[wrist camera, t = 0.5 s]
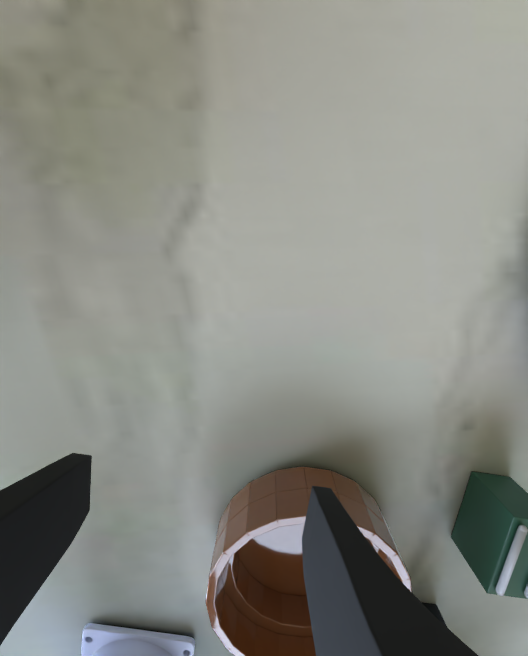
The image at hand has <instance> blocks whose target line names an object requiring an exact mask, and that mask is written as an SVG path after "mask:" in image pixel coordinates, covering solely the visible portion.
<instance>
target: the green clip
mask: <svg viewBox="0 0 528 656" xmlns="http://www.w3.org/2000/svg"><path fill="white" fill-rule="evenodd" d="M451 538H452V540H453V541H454V543H455V544H456V546H457V547H458V549H459V550H460V552H461V554H462V555H463V557H464V558H465V560H466V561H467V563H468V564H469V566H470V568H471V569H472V571H473V572H474V574H475V575H476V577H477V578H478V580H479V582H480V583H481V585H482V586H483V588H484V589H485V591H486V592H487V593H489V594H496V595H500V596H503V595H504V596H511V597H518V598H525V599H528V493H527V492H526V491H525V490H524V489H523V488H522V487H520V486H519V485H518V484H517V483H516V482H515V481H514V480H513V479H512V478H511V477H507V476H500V475H493V474H486V473H479V472H472V473H471V476H470V479H469V482H468V485H467V489H466V492H465V495H464V498H463V501H462V504H461V507H460V510H459V514H458V517H457V520H456V523H455V526H454V529H453V532H452V536H451Z"/></svg>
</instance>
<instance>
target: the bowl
mask: <svg viewBox="0 0 528 656" xmlns="http://www.w3.org/2000/svg"><path fill="white" fill-rule="evenodd" d="M312 486H319V487H326V488H331V489H332V491H333V492H334V494H335V495H336V496H337V498H338V499H339V501H340V502H341V504H342V505H343V507H344V508H345V510H346V511H347V513H348V514H349V515H350V517H351V518H352V520H353V521H354V523H355V524H356V525H357V527H358V528H359V530H360V531H361V532H362V534H363V535H364V536H365V538H366V539H367V540H368V542H369V543H370V544H371V546H372V547H373V548H374V550H375V551H376V552H377V553H378V555H379V556H380V557H381V558H382V559H383V561H384V562H385V563H386V564H387V565H388V567H389V568H390V569H391V570H392V571H393V573H394V574H395V575H396V576H397V577H398V578H399V579H400V581H401V582H402V583H403V584H404V585H405V586H406V587H407V588H408V589H409V590H410V591H411V592H412V586H411V578H410V575H409V573H408V570H407V568H406V566H405V564H404V561H403V559H402V557H401V554H400V552H399V550H398V548H397V545H396V543H395V541H394V538H393V536H392V534H391V532H390V529H389V527H388V525H387V522H386V520H385V518H384V516H383V514H382V512H381V510H380V508H379V507H378V505H377V503H376V501H375V499H374V498H373V497H372V496H371V495H369V494H368V493H367V492H366V491H365V490H364V489H363V488H362V487H361V486H360V485H359V484H358V483H356V482H355V481H353V480H351V479H349V478H347V477H345V476H343V475H340V474H338V473H336V472H334V471H332V470H331V471H330V470H325V469H318V468H311V467H303V466H302V467H294V468H287V469H280V470H276V471H273V472H271V473H268V474H266V475H264V476H262V477H260V478H257V479H255V480H253V481H251V482H250V483H248V484H247V485H246V486H245V487H244V488H243V489H242V490H241V491H239V492H238V493H237V494H236V495H235V496H234V497H233V498H232V499H231V500H230V502H229V504H228V506H227V508H226V510H225V511H224V513H223V515H222V517H221V519H220V522H219V527H218V532H217V537H216V543H215V548H214V553H213V558H212V564H211V569H210V574H209V580H208V587H207V595H206V606H207V610H208V614H209V618H210V622H211V626H212V628H213V630H214V631H215V633H216V634H217V636H218V637H219V639H220V640H221V642H222V643H223V645H224V646H225V647H226V649H228V651H229V652H231V653H232V654H233V655H235V656H316V652H315V646H314V640H313V633H312V627H311V620H310V614H309V607H308V601H307V594H306V587H305V581H304V574H303V556H302V535H303V530H304V525H305V520H306V514H307V509H308V504H309V499H310V494H311V489H312Z"/></svg>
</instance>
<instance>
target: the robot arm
mask: <svg viewBox="0 0 528 656" xmlns="http://www.w3.org/2000/svg"><path fill="white" fill-rule="evenodd" d="M91 457H92V456H90V455H83V454H76V453H72V454H70V455H68V456H66V457H64V458H62V459H60V460H58V461H56V462H54V463H52V464H50V465H48V466H46V467H44V468H43V469H41V470H39V471H37V472H35V473H33V474H31V475H29V476H27V477H25V478H24V479H22V480H20V481H18V482H16V483H14V484H12V485H10V486H8V487H6V488H4V489H2V490H0V645H1V644H2V642H3V640H4V639H5V637H6V636H7V634H8V633H9V631H10V630H11V628H12V627H13V625H14V624H15V622H16V621H17V620H18V618H19V617H20V615H21V614H22V613H23V611H24V610H25V608H26V607H27V606H28V604H29V603H30V601H31V600H32V598H33V597H34V596H35V594H36V593H37V591H38V590H39V589H40V587H41V586H42V584H43V583H44V582H45V580H46V579H47V577H48V576H49V575H50V573H51V572H52V570H53V569H54V567H55V566H56V565H57V563H58V562H59V560H60V559H61V557H62V556H63V555H64V553H65V552H66V550H67V549H68V547H69V546H70V544H71V543H72V541H73V539H74V538H75V536H76V534H77V532H78V531H79V529H80V527H81V525H82V523H83V521H84V520H85V518H86V516H87V514H88V512H89V510H90V484H91ZM302 556H303V574H304V581H305V587H306V594H307V601H308V607H309V614H310V620H311V627H312V633H313V640H314V646H315V652H316V656H478V655H477V654H476V653H475V652H473V651H472V650H471V649H470V648H469V647H468V646H467V645H465V644H464V643H463V642H462V641H461V640H460V639H459V638H458V637H457V636H455V635H454V634H453V633H452V632H451V631H450V630H449V629H448V628H447V627H446V626H445V625H444V624H443V623H442V622H441V621H439V620H438V619H437V618H436V617H435V616H434V615H433V614H432V613H431V612H430V611H429V610H428V609H427V608H426V607H425V606H424V605H423V604H422V603H421V602H420V601H419V600H418V599H417V598H416V597H415V595H414V594H413V593H412V592H411V591H410V590H409V589H408V588H407V587H406V586H405V585H404V584H403V583H402V582H401V581H400V579H399V578H398V577H397V576H396V575H395V574H394V573H393V571H392V570H391V569H390V568H389V567H388V565H387V564H386V563H385V562H384V561H383V559H382V558H381V557H380V556H379V555H378V553H377V552H376V551H375V550H374V548H373V547H372V546H371V544H370V543H369V542H368V540H367V539H366V538H365V536H364V535H363V534H362V532H361V531H360V530H359V528H358V527H357V525H356V524H355V523H354V521H353V520H352V518H351V517H350V515H349V514H348V513H347V511H346V510H345V508H344V507H343V505H342V504H341V502H340V501H339V499H338V498H337V496H336V495H335V494H334V492H333V491H332V489H331V488H326V487H319V486H312V489H311V494H310V499H309V504H308V509H307V514H306V520H305V525H304V530H303V535H302ZM194 649H195V640H194V638H192V637H190V636H183V635H175V634H168V633H161V632H153V631H146V630H139V629H131V628H124V627H117V626H109V625H102V624H95V623H89V624H87V625H86V626H85V627H84V629H83V632H82V652H81V656H194Z"/></svg>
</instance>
